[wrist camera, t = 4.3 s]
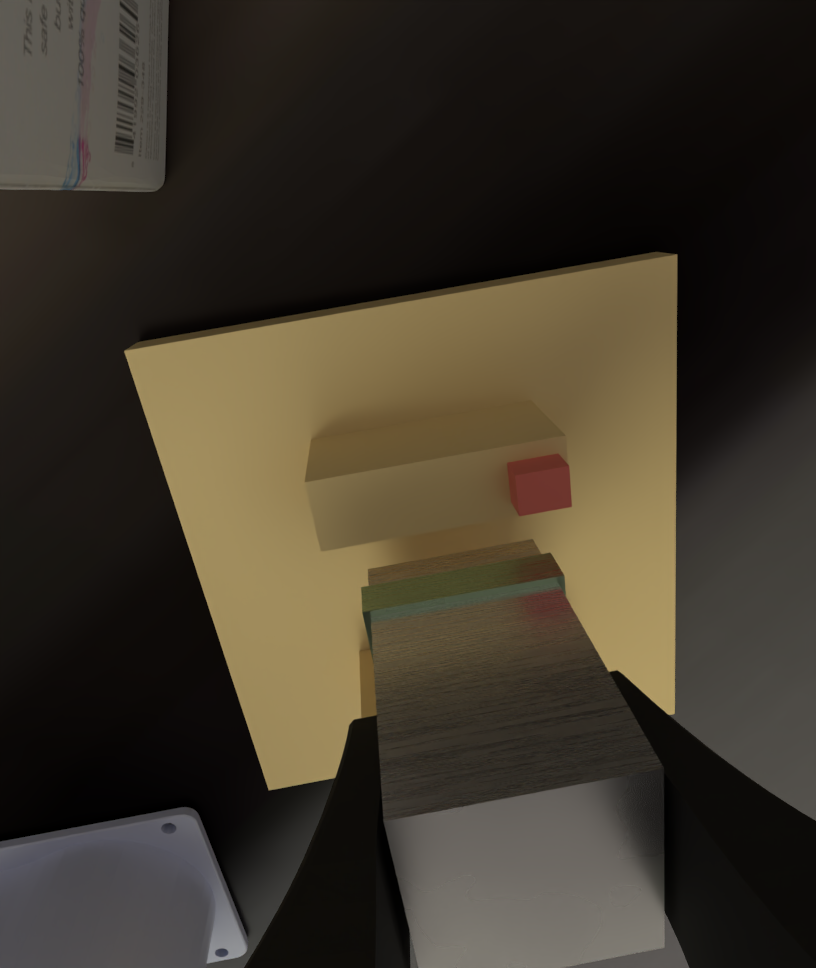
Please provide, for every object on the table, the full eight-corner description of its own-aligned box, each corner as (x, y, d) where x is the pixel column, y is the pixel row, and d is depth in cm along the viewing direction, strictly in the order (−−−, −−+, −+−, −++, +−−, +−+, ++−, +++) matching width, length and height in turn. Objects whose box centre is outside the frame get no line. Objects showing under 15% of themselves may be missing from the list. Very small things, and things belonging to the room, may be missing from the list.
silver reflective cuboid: (390, 705, 17) (417, 1002, 11) (360, 564, 16) (371, 815, 9) (551, 675, 17) (673, 951, 11) (538, 532, 16) (674, 758, 9)
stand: (272, 762, 23) (254, 899, 19) (138, 342, 17) (63, 389, 13) (659, 689, 23) (735, 806, 19) (656, 251, 18) (766, 266, 13)
